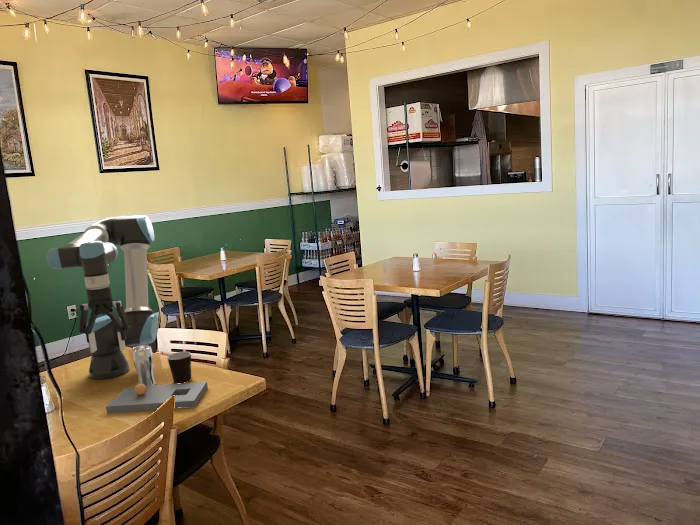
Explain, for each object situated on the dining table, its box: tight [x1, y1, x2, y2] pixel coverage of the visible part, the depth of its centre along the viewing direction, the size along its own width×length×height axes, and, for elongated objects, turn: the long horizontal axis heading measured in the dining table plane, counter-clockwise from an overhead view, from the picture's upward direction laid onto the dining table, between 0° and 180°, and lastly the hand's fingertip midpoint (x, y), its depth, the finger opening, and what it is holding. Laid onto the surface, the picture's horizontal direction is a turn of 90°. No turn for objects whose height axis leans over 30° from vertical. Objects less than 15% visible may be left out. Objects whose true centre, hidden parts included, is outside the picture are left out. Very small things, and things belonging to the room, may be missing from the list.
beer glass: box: [131, 344, 157, 386], centre depth 205 cm, size 7×7×15 cm
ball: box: [134, 383, 147, 395], centre depth 191 cm, size 4×4×4 cm
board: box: [105, 381, 209, 414], centre depth 191 cm, size 30×16×2 cm, turn 89°
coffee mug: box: [166, 351, 192, 384], centre depth 209 cm, size 12×9×10 cm
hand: (108, 350), depth 189 cm, fingers open, 9 cm apart
